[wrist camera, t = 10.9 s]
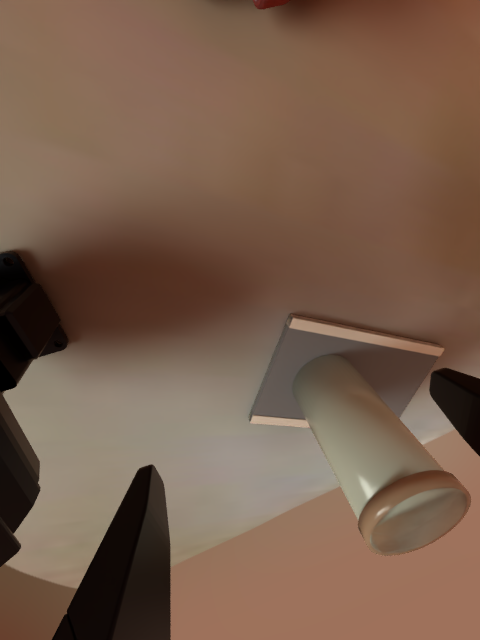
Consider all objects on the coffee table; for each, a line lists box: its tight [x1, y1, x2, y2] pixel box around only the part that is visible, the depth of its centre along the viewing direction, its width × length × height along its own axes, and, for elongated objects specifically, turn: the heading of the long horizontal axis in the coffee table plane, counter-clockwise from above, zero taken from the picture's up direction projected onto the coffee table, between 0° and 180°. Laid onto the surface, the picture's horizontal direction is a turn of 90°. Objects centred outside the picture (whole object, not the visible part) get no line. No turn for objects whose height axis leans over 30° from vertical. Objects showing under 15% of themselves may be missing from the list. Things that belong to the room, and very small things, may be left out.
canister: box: [292, 355, 471, 556], centre depth 21 cm, size 6×6×12 cm
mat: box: [248, 314, 445, 428], centre depth 27 cm, size 15×10×1 cm, turn 72°
